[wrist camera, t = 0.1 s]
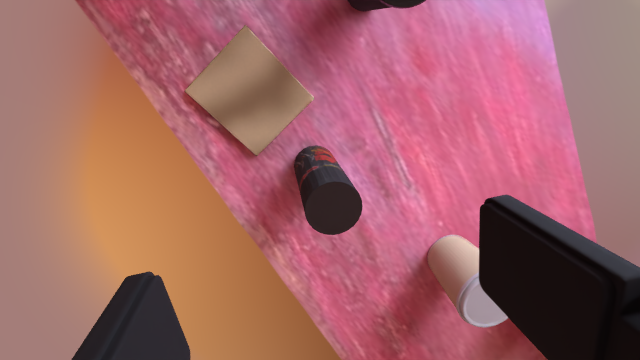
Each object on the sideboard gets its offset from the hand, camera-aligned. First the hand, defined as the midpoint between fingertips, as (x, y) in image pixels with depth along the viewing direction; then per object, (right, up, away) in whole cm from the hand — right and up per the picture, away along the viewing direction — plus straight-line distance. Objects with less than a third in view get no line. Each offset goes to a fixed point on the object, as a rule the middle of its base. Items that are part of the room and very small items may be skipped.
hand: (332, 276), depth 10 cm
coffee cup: (+22, -10, +47) cm, 53 cm away
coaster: (-9, +14, +34) cm, 38 cm away
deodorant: (-1, +5, +38) cm, 39 cm away
